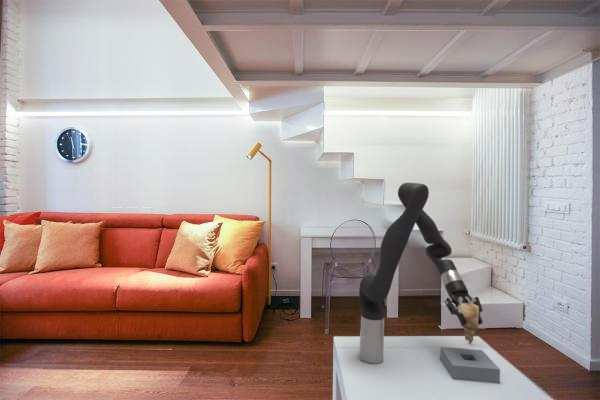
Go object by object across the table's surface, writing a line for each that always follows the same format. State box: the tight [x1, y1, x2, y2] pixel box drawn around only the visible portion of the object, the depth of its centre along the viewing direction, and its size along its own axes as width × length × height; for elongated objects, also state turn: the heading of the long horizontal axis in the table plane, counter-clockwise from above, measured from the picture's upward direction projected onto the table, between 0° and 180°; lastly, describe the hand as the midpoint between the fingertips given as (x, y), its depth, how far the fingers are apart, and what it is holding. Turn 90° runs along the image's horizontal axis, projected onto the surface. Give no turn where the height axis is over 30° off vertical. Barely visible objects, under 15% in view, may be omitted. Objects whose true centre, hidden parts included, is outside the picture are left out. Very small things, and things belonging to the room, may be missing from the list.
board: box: [439, 346, 501, 384], centre depth 120 cm, size 16×14×5 cm
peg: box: [460, 303, 479, 342], centre depth 119 cm, size 6×6×13 cm
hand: (472, 324), depth 118 cm, fingers closed on peg, 5 cm apart
